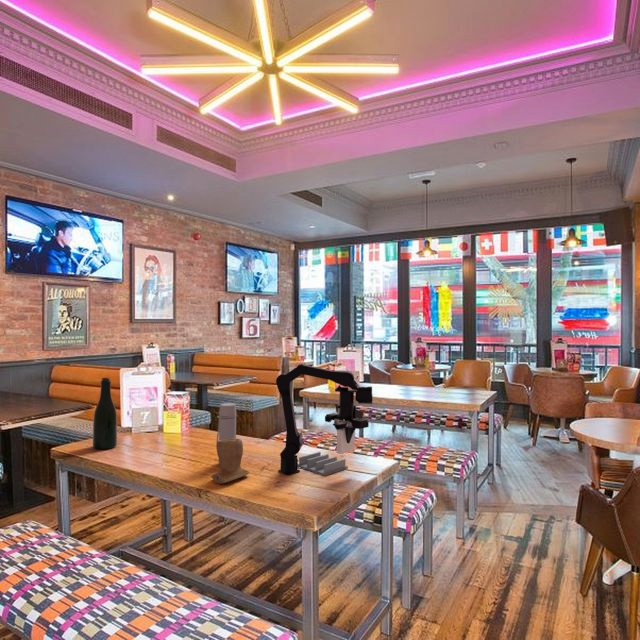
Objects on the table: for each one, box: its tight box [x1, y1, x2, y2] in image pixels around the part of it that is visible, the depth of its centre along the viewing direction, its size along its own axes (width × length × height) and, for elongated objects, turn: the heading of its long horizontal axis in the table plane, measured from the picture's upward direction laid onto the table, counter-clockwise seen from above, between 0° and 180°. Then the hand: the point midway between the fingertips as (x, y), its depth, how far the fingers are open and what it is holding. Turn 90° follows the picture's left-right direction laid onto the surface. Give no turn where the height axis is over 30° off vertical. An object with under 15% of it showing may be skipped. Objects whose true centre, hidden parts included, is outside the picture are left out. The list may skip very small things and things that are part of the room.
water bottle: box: [215, 402, 237, 465], centre depth 198 cm, size 9×8×25 cm
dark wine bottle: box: [92, 377, 118, 451], centre depth 221 cm, size 10×10×33 cm
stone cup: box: [210, 438, 250, 485], centre depth 179 cm, size 15×12×15 cm
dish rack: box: [298, 451, 349, 476], centre depth 194 cm, size 14×16×4 cm
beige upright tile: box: [336, 428, 356, 455], centre depth 185 cm, size 8×2×9 cm, turn 135°
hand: (345, 442), depth 185 cm, fingers closed on beige upright tile, 2 cm apart
